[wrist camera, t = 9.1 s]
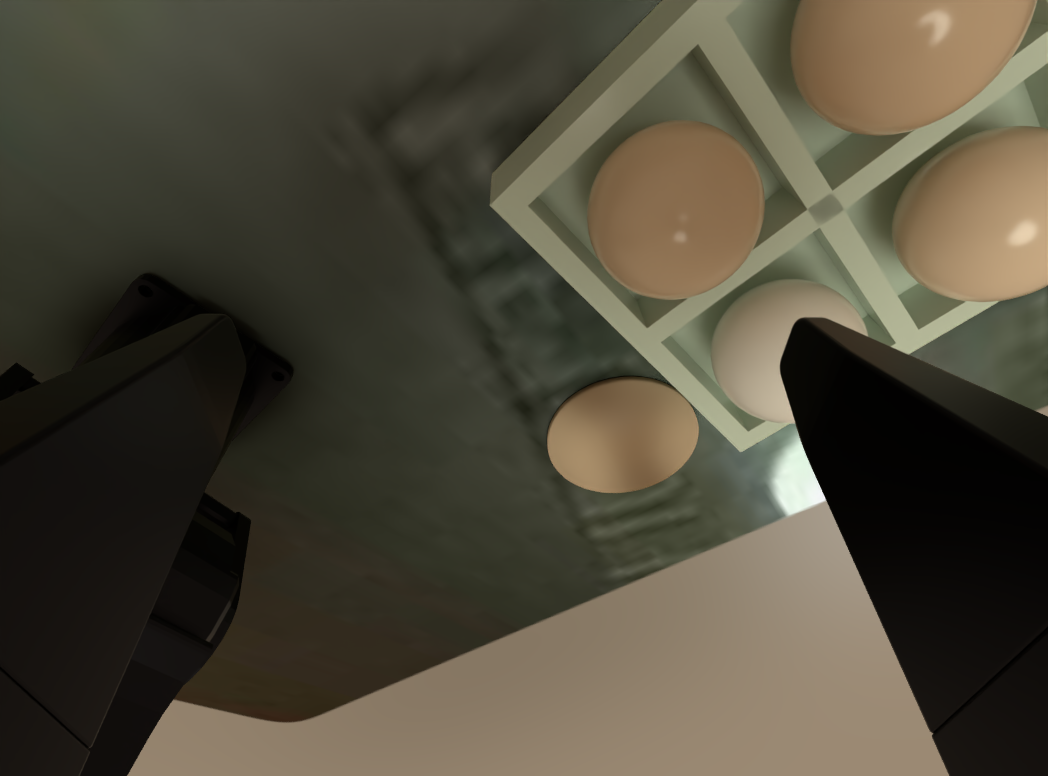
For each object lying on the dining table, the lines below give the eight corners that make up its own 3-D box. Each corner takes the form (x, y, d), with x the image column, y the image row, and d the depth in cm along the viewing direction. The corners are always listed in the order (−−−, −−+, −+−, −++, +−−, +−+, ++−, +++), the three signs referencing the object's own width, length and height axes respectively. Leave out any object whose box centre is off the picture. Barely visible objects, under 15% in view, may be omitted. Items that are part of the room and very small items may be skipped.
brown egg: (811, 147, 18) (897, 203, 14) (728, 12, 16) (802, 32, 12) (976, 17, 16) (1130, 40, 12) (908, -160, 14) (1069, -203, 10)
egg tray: (719, 406, 26) (740, 452, 24) (491, 173, 19) (489, 205, 17) (1073, 182, 20) (1149, 213, 18) (917, -261, 13) (1006, -305, 11)
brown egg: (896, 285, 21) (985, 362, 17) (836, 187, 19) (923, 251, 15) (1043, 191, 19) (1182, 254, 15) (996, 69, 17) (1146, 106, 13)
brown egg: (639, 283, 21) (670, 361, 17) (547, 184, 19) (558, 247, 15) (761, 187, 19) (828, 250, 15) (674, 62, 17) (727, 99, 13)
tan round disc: (609, 506, 30) (610, 511, 30) (516, 436, 27) (516, 442, 26) (725, 435, 27) (727, 441, 27) (636, 348, 24) (638, 353, 24)
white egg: (735, 388, 24) (785, 475, 20) (667, 316, 22) (709, 398, 18) (847, 314, 22) (927, 394, 18) (786, 226, 20) (862, 295, 16)
